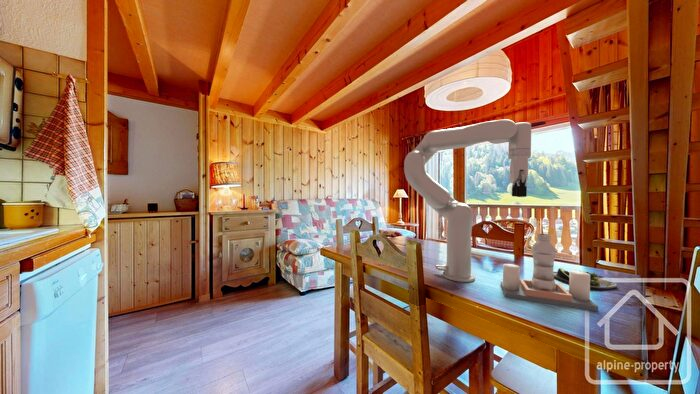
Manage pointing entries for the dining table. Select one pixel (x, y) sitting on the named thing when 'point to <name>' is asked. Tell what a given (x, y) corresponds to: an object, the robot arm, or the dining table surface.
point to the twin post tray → (571, 298)
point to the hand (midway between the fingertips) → (518, 196)
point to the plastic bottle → (543, 264)
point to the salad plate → (594, 280)
